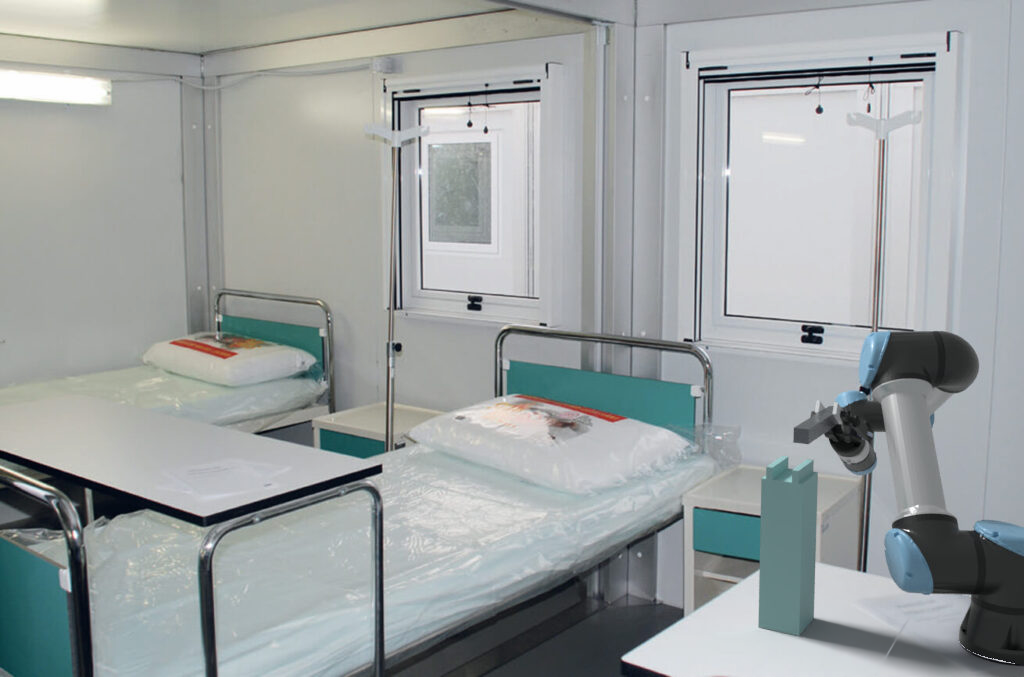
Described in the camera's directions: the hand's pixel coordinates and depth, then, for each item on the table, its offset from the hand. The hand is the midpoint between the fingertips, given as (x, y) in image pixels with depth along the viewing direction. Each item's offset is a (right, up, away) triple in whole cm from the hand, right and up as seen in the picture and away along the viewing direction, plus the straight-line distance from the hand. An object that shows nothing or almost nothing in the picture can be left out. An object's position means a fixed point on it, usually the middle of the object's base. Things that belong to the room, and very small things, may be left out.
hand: (826, 407), depth 211 cm
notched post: (-12, -42, -14) cm, 46 cm away
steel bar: (-3, -5, -3) cm, 6 cm away
